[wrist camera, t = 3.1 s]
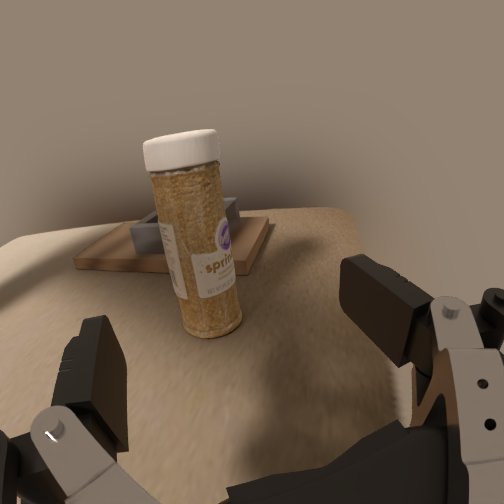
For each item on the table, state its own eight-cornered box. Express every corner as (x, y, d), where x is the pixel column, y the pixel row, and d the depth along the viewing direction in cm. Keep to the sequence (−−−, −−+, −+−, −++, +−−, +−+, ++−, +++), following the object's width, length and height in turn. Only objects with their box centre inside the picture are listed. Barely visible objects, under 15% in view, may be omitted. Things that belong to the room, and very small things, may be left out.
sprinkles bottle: (242, 339, 20) (212, 128, 15) (177, 342, 20) (130, 143, 15) (243, 301, 24) (220, 126, 19) (188, 305, 25) (154, 137, 19)
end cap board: (76, 268, 34) (65, 235, 32) (126, 231, 44) (119, 203, 42) (247, 275, 28) (241, 229, 26) (269, 227, 39) (266, 193, 37)
